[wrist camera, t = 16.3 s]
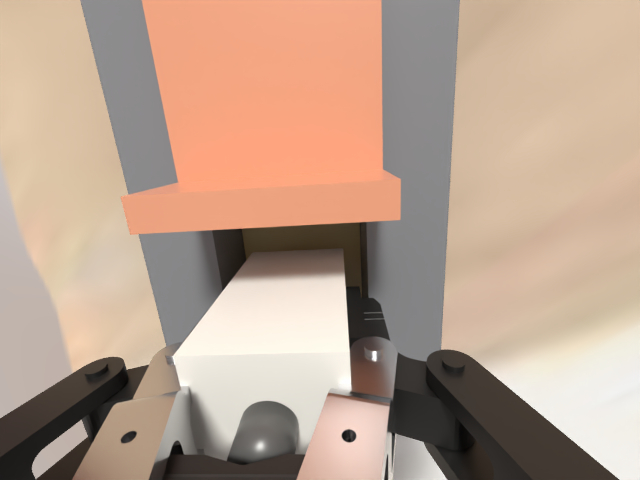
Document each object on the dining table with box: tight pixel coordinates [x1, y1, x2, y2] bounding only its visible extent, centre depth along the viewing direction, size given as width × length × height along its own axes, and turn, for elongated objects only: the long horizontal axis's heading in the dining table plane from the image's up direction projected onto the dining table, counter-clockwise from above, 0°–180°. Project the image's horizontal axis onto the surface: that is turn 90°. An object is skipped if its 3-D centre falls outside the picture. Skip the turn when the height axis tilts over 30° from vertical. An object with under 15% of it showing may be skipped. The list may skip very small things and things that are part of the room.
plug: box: [173, 248, 351, 465], centre depth 10 cm, size 4×4×8 cm
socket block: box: [80, 0, 460, 361], centre depth 14 cm, size 20×12×4 cm, turn 4°
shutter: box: [121, 0, 401, 235], centre depth 8 cm, size 8×7×4 cm
